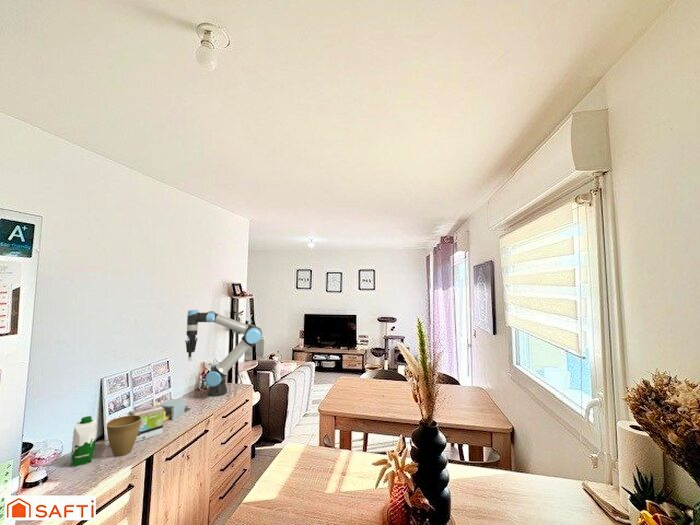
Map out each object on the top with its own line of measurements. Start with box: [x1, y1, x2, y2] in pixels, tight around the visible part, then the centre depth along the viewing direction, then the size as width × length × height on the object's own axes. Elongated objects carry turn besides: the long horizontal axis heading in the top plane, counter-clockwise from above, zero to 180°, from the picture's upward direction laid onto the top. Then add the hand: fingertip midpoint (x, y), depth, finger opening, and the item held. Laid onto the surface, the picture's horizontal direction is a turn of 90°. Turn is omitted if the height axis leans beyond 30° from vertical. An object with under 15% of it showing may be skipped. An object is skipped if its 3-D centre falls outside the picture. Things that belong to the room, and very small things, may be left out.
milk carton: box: [71, 415, 98, 468], centre depth 152 cm, size 9×9×20 cm
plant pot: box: [106, 415, 142, 457], centre depth 161 cm, size 15×15×16 cm
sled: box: [163, 411, 172, 423], centre depth 203 cm, size 24×6×6 cm, turn 176°
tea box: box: [128, 404, 164, 443], centre depth 179 cm, size 15×10×15 cm, turn 143°
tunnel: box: [158, 398, 192, 423], centre depth 208 cm, size 33×10×9 cm, turn 176°
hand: (190, 361), depth 239 cm, fingers closed
